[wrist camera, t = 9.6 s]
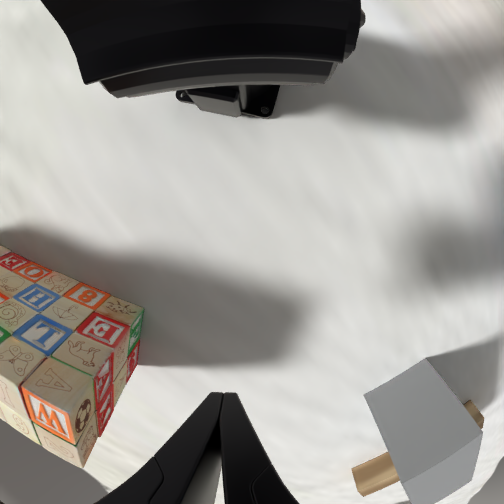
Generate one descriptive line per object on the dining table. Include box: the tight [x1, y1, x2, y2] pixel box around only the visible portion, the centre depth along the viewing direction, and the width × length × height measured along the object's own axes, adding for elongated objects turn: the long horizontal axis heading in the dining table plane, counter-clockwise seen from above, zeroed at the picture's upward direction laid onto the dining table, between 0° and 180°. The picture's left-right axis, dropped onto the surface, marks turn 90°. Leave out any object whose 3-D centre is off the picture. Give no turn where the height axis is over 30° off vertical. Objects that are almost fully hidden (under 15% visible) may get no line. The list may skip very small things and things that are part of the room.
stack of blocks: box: [0, 245, 144, 468], centre depth 15 cm, size 21×6×12 cm, turn 73°
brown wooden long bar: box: [352, 400, 484, 497], centre depth 24 cm, size 3×18×4 cm, turn 120°
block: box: [364, 358, 483, 504], centre depth 19 cm, size 14×7×11 cm, turn 30°
